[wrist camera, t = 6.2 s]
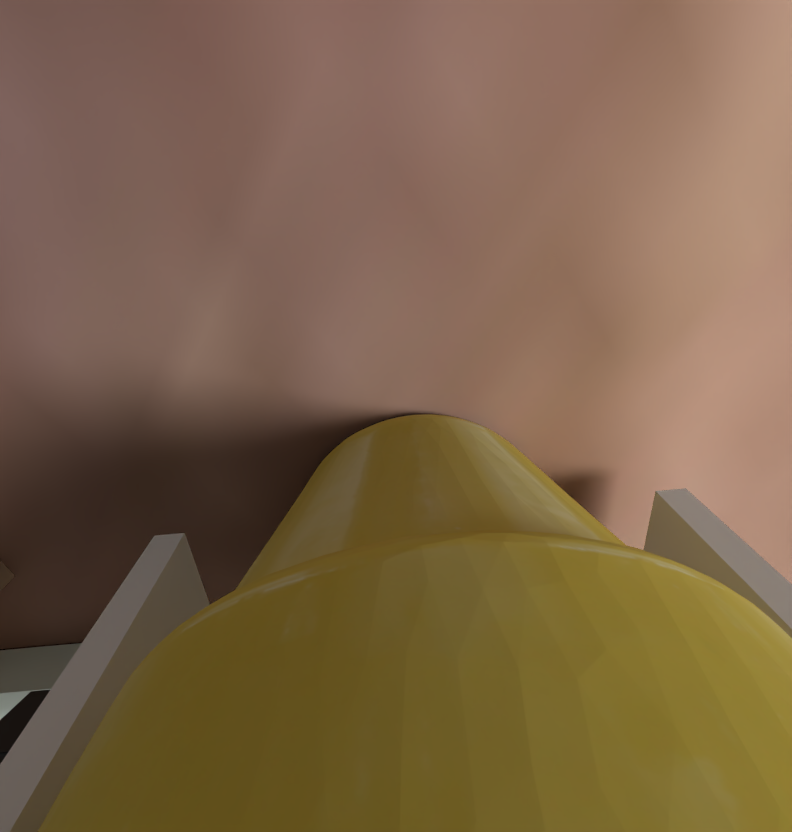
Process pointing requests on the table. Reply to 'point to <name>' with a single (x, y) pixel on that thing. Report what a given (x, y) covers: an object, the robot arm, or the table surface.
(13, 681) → the tray
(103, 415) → the table surface
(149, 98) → the table surface
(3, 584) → the walnut block
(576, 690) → the plant pot
